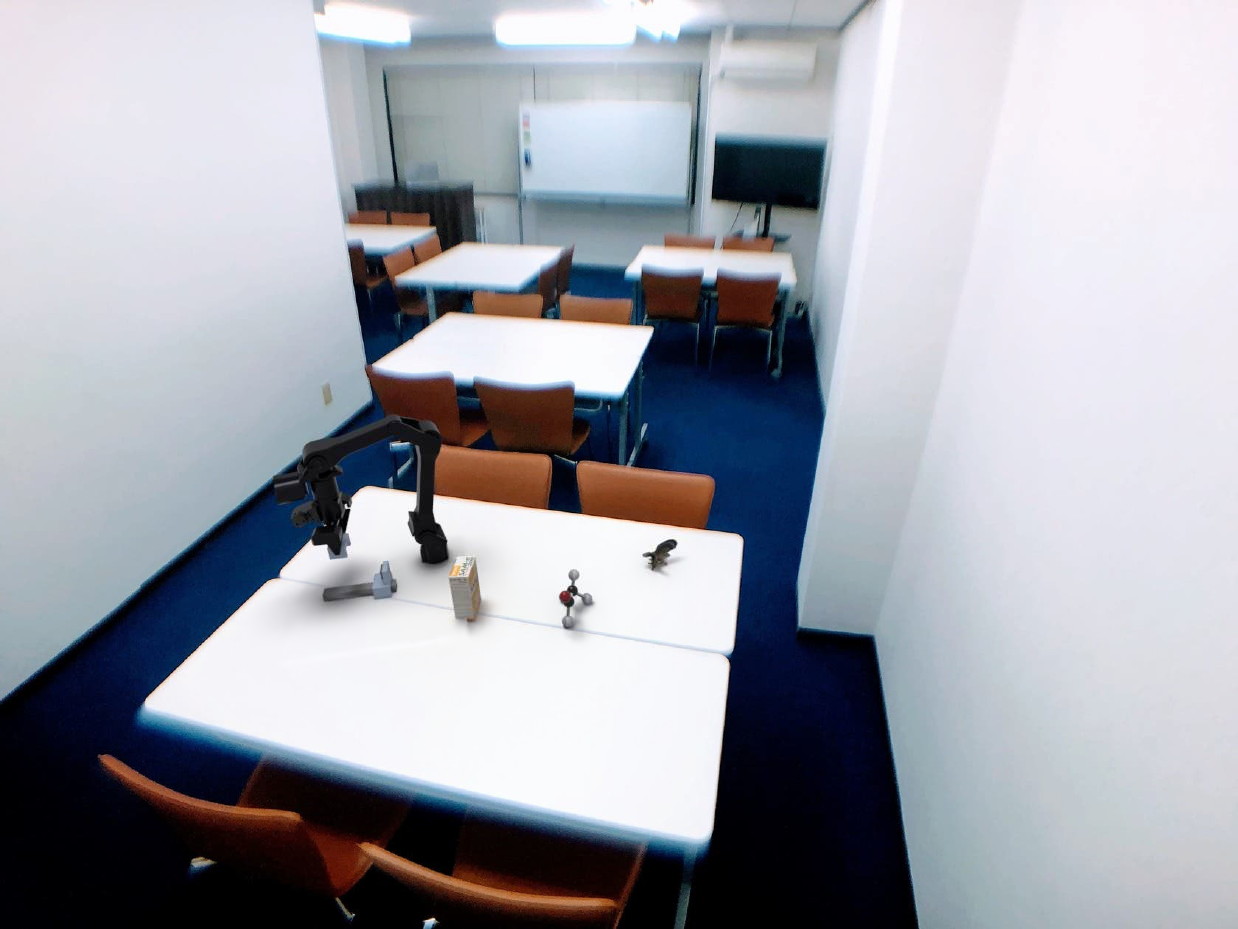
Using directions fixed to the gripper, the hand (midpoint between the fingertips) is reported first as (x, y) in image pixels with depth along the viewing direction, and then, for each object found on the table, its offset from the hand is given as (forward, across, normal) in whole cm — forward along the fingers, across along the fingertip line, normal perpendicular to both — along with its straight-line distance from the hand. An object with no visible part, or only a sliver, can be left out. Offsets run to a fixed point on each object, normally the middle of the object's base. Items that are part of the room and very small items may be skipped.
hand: (339, 547), depth 170 cm
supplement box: (+12, +16, +30) cm, 36 cm away
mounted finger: (+10, +6, +9) cm, 15 cm away
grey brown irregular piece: (+12, +7, +80) cm, 81 cm away
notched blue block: (+1, 0, 0) cm, 1 cm away
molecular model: (+12, +22, +54) cm, 60 cm away
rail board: (+12, +5, +4) cm, 13 cm away
